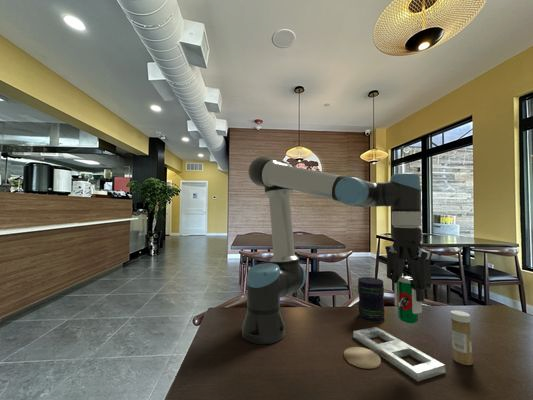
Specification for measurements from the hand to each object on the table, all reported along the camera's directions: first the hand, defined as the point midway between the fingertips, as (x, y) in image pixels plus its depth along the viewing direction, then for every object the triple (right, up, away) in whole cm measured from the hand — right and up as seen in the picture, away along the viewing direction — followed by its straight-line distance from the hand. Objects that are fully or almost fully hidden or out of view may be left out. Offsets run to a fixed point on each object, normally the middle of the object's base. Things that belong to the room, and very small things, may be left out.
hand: (407, 308), depth 70 cm
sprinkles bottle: (+16, -15, 0) cm, 22 cm away
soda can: (0, -3, 0) cm, 3 cm away
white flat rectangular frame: (-2, -15, +4) cm, 16 cm away
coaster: (-12, -15, +2) cm, 20 cm away
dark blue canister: (+3, -17, +30) cm, 35 cm away
